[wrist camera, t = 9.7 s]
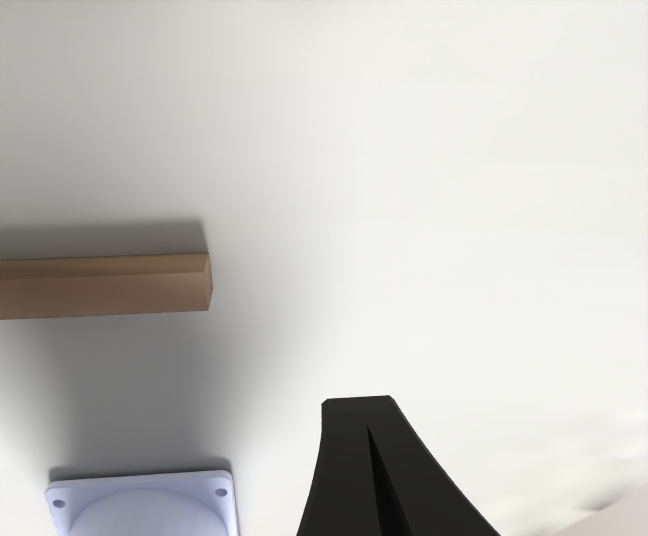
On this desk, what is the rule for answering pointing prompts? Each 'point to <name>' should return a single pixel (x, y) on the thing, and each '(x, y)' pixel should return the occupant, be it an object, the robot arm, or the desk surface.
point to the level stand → (104, 285)
